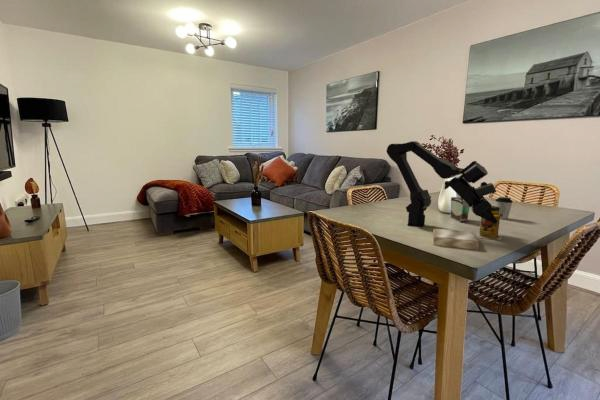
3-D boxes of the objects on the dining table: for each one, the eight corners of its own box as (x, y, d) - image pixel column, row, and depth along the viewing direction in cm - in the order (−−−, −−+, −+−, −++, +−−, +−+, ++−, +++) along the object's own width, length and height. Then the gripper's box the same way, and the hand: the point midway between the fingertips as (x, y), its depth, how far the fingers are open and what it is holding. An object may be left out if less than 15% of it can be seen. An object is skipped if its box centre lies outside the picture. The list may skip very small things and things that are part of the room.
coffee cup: (502, 220, 138) (505, 199, 136) (489, 217, 145) (492, 197, 143) (514, 219, 140) (517, 199, 138) (501, 216, 146) (503, 196, 144)
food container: (475, 223, 134) (477, 201, 132) (462, 223, 134) (464, 201, 132) (461, 216, 146) (463, 196, 144) (449, 216, 146) (450, 196, 144)
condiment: (479, 238, 113) (483, 207, 111) (475, 232, 121) (478, 203, 119) (501, 240, 111) (505, 209, 108) (496, 234, 118) (500, 204, 116)
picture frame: (433, 244, 106) (434, 236, 106) (432, 235, 117) (433, 228, 117) (478, 249, 101) (479, 241, 100) (473, 239, 112) (474, 231, 111)
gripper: (486, 178, 104) (520, 211, 102) (478, 173, 121) (507, 201, 119) (459, 199, 109) (491, 230, 107) (455, 191, 126) (482, 218, 124)
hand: (494, 219), depth 114 cm, fingers open, 9 cm apart
